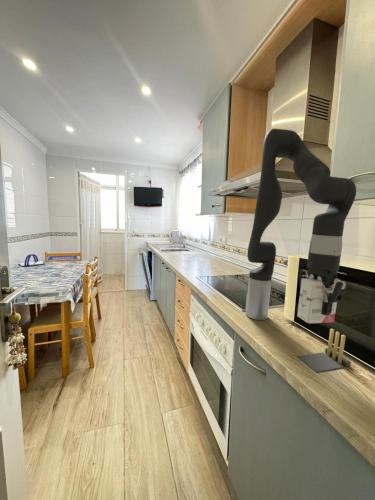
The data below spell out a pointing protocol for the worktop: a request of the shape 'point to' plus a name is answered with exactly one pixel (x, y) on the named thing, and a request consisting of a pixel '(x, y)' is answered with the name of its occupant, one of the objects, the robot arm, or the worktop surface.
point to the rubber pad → (320, 362)
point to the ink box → (313, 302)
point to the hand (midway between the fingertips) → (316, 310)
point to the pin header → (333, 353)
